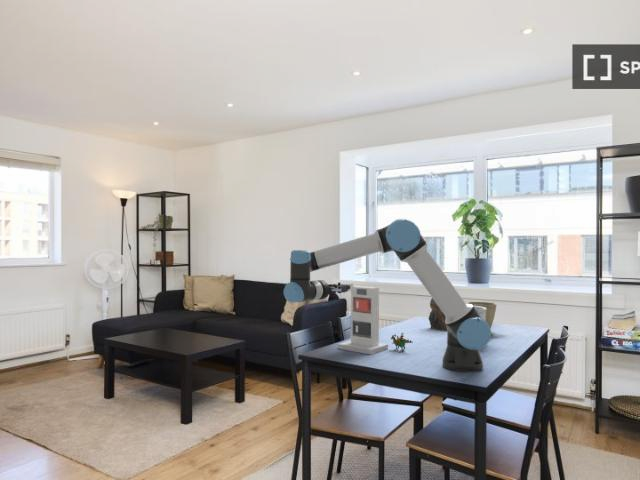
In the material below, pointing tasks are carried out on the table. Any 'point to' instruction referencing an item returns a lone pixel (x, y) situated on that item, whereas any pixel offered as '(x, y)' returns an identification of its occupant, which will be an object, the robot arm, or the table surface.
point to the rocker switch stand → (365, 322)
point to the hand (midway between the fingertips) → (351, 286)
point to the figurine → (400, 341)
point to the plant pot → (487, 310)
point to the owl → (437, 317)
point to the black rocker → (362, 329)
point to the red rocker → (362, 305)
